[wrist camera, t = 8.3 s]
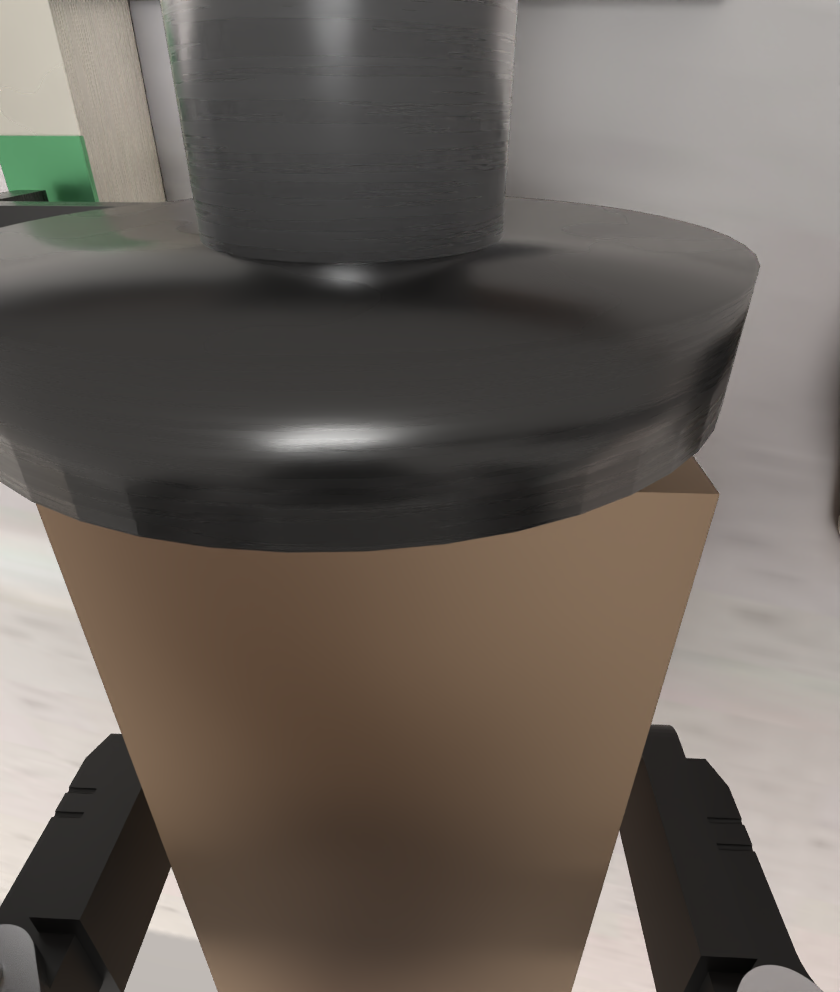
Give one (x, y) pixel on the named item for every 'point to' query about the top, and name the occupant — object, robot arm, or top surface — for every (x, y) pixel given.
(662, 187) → the top surface
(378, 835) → the walnut block
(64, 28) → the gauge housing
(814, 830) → the top surface
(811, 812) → the top surface
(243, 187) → the plunger
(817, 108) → the top surface
